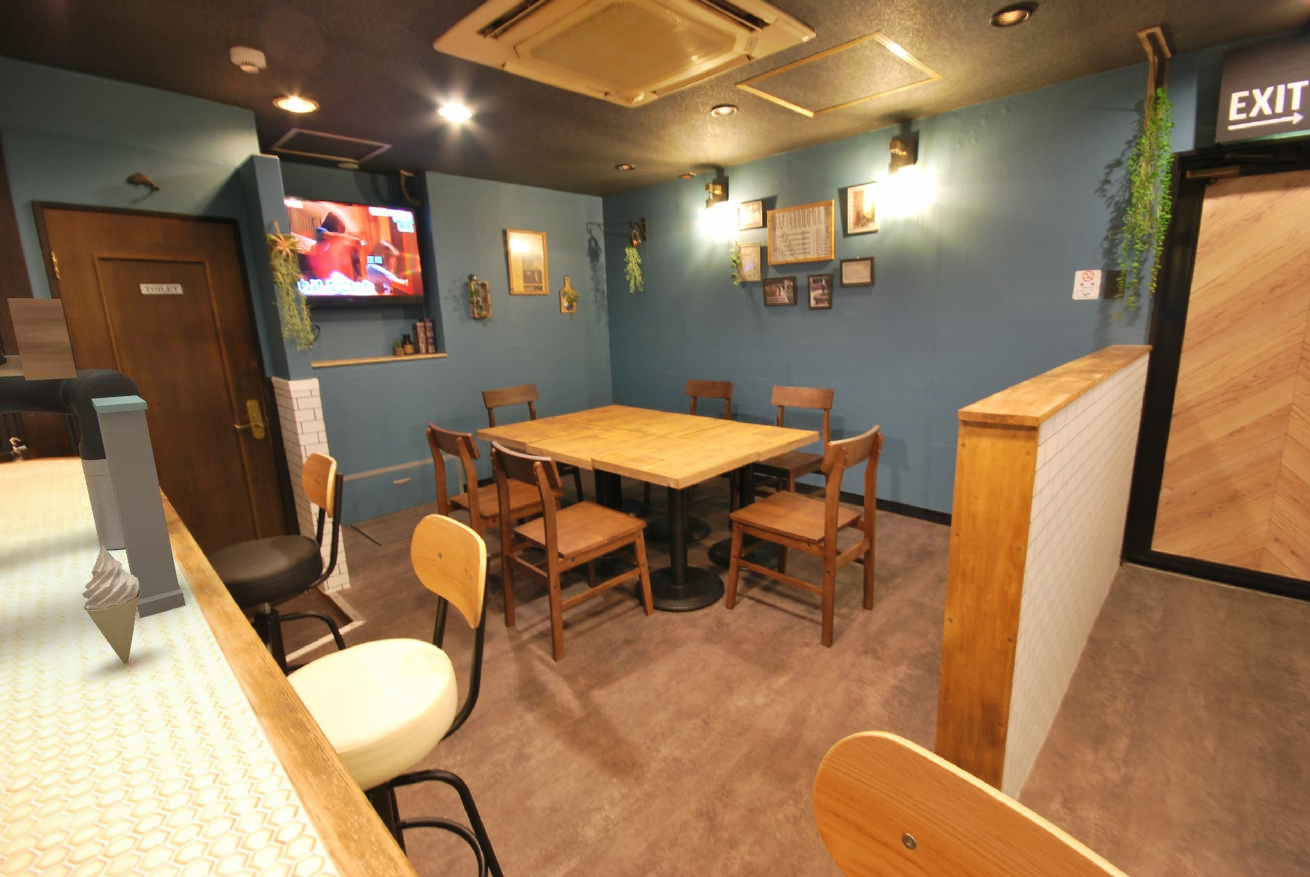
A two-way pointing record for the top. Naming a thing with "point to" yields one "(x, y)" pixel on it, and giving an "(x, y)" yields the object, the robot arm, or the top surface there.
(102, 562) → the ice cream cone
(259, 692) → the top surface
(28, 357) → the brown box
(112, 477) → the stand
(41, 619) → the top surface
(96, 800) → the top surface
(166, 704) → the top surface
